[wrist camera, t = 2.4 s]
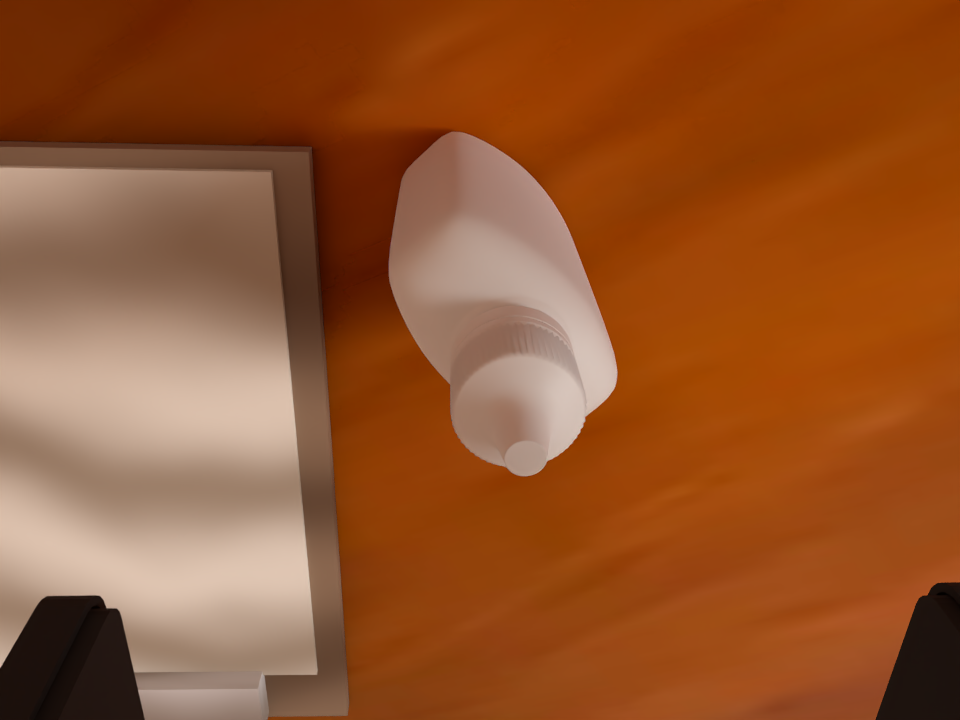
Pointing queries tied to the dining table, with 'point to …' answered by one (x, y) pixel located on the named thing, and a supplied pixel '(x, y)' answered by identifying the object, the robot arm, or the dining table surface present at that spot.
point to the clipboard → (172, 418)
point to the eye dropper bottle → (498, 303)
